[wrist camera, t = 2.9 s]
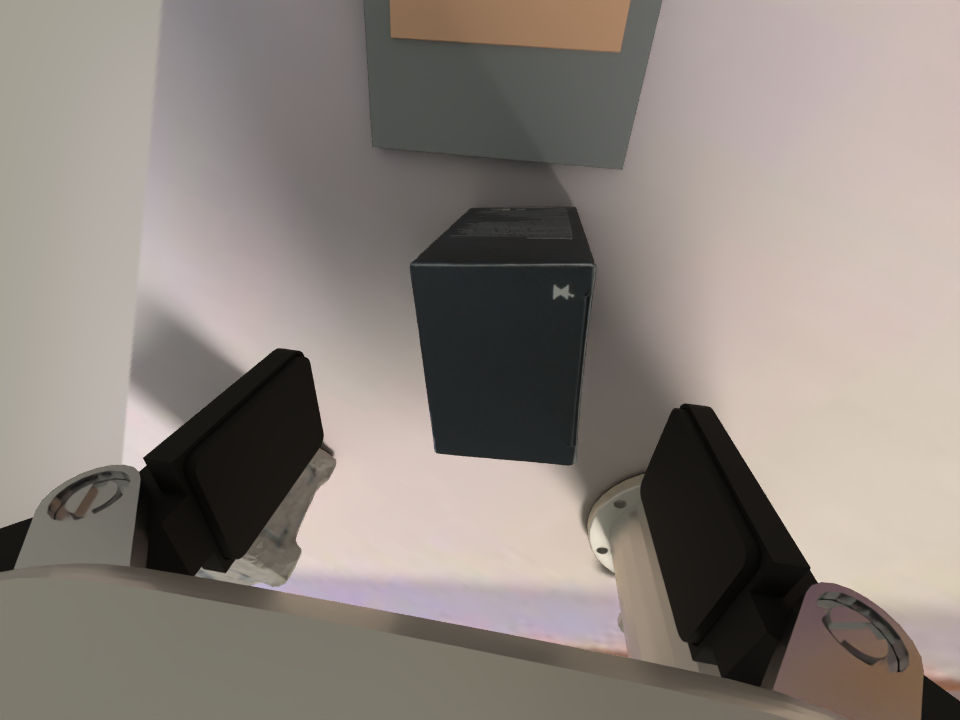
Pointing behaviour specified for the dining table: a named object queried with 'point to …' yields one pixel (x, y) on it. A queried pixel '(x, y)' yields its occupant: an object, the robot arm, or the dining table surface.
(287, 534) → the incense holder
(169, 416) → the dining table surface
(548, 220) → the box
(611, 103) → the card
